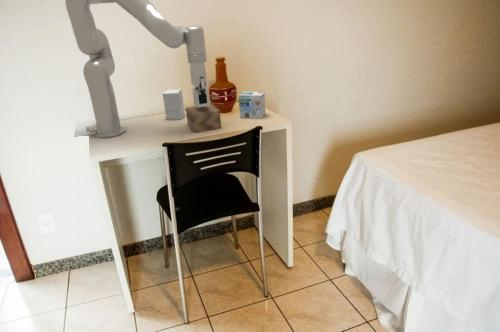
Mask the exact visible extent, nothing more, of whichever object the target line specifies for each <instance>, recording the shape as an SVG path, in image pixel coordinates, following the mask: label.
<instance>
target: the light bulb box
mask: <svg viewBox="0 0 500 332" xmlns="http://www.w3.org/2000/svg"><path fill="white" fill-rule="evenodd" d="M265 95H266V93H265V91H242V92H240V93H239V94H238V103H239V104H238V106H239V107H238V108H239V118H240V119H241V118H242V119H243V118H244V119H257V120H258V119H263V118H264V116H266V98H265V97H266V96H265Z"/></svg>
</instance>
